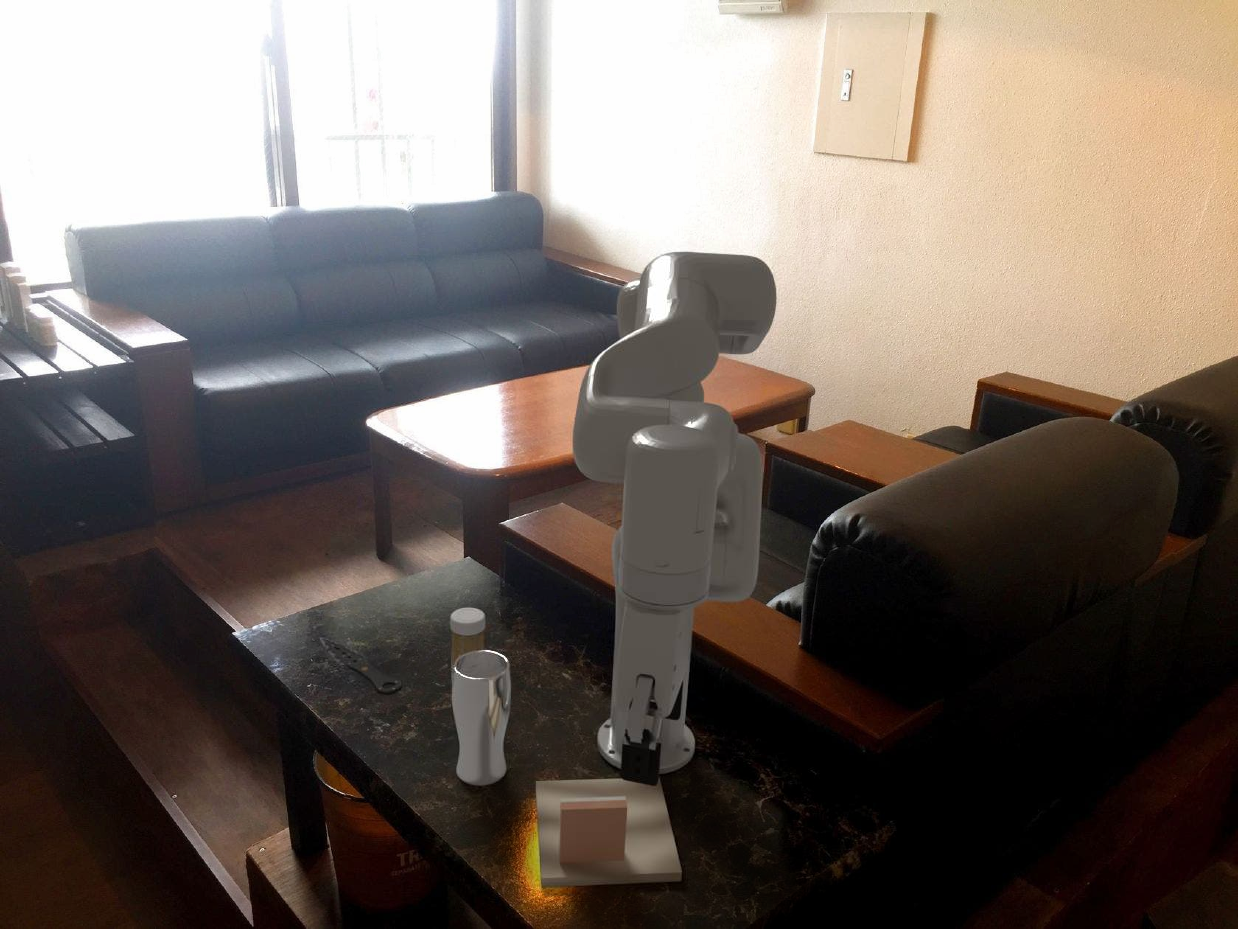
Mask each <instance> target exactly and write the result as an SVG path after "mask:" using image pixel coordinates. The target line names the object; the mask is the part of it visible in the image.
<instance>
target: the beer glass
mask: <svg viewBox="0 0 1238 929" xmlns="http://www.w3.org/2000/svg"><path fill="white" fill-rule="evenodd" d="M510 664H511V663H510V661H509V659H508V658H507V657H506V656H505V655H504V654H501V653H500V652H497V651H493V650H486V649H484V650H479V651H472V652H468V653H465V654H463V655H461V656H460V657H459V658H457V659H456V661H455V663H454V673H453V685H452V684H451V697H452V702H451V703H452V711H453V717H454V723H455V727H456V731H457V736H458V741H459V742H458V743H459V754H458V760H457V764H456V770H455V772H456V775H457V777H458V778H459V779H460V780H461V781H462V782H463V783H465V784H468V785H472V786H479V787H480V786H481V787H482V786H489V785H492V784H495V783H496V782H498V781H500V780H502V778H504V777H505V774H506V772H507V763H506V758H505V754H504V752H505V751H504V740H505V734H506V732H507V731H506V730H507V725H508V720H509V718H510V717H509V716H510V712H511V711H510V710H511V703H512V701H511V700H512V699H511V698H512V683H511V682H512V680H511V672H510V671H511V668H510V666H511V665H510Z"/></svg>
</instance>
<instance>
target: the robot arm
mask: <svg viewBox="0 0 1238 929" xmlns="http://www.w3.org/2000/svg"><path fill="white" fill-rule="evenodd" d="M777 298H778V297H777V286H776V282H775V278H774V274H773V273H772V270H771V269H770V267H769V265H768V264H767V263H766V262H765V261H764V260H762V259H760V258H759V257H757V256H752V255H749V254H748V255H746V254H732V253H731V254H730V253H714V252H713V253H711V252H695V251H672V252H667V253H663V254H660V255H658V256H656V257H655V258H654V259H652V260H651V261H650V262H649V263H648V264H647V265H646V266H645V267H644V269H643V271H642V273H641V275H640V278H636V279H633V280H629V281H628V282H627V283H625V284H624V285H623V286H622V287H621V288H620V290H619V292H618V295H617V302H616V321H617V328H618V336H619V339H618V340H617V341H615V342H614V343H613V344H611V345H610V346H608V347H607V348H606V349H604V350H602V351H601V353H599V354H598V355H597V356H596V357H595V358H594V359H593V361H592V362H591V363H590V364H589V366H588V368H587V369H586V371H585V374H584V375H583V379H582V381H581V384H580V389H579V393H578V399H577V403H576V404H577V405H576V410H575V415H574V423H573V429H572V453H573V454H572V455H573V458H574V462H575V464H576V467H577V468H578V470H579V471H580V473H582V474H583V475H584V476H585V477H587V478H588V479H590V480H592V481H596V482H601V483H612V484H614V483H615V484H623V491H622V492H623V496H622V513H621V525H620V526H619V528H618V529H617V530H616V532H615V534H614V536H613V541H612V548H611V557H612V560H611V561H612V567H613V569H612V570H613V577H614V578H613V580H614V590H615V625H614V626H615V627H614V628H615V629H614V630H615V631H614V648H613V649H614V650H613V667H612V668H613V670H612V685H611V686H612V688H611V701H610V702H611V705H610V718H608V719H607V720H606V721H605V722H604V723H602V724H601V726H600V727H599V729H598V732H597V739H596V743H597V749H598V751H599V753H600V755H601V756H602V757H603V758H604V760H606V761H607V762H608V763H610V764H611V765H612V766H614V767H616V768H618V769H620V776H619V777H620V779H623V780H626V781H631V782H636V783H641V784H646V785H651V786H656V785H657V783H658V780H659V778H660V775H664V774H668V773H672V772H674V771H677V770H680V769H681V768H682V767H684V766H685V765H687V764H688V763H689V762H690V761H691V760H692V758H693V756H694V754H695V748H696V739H695V737H694V733H693V732H692V730H691V729H690V728H689V727H688V726H687V724H685V722H686V710H687V700H688V690H689V689H688V687H689V686H688V685H689V678H690V677H689V676H690V675H689V674H690V663H691V652H692V640H693V627H694V616H695V615H694V614H695V608H697V607H699V606H701V604H704V602H707V601H709V602H724V603H726V602H727V603H730V602H731V603H738V602H741V601H744V600H746V599H748V598H749V597H751V595H752V593H753V592H754V590H755V588H756V584H757V579H758V573H759V560H760V542H761V540H760V538H761V518H762V498H763V497H762V496H763V493H762V492H763V461H762V455H761V451H760V448H759V446H758V444H757V442H756V441H755V440H754V439H753V438H752V437H751V436H749V435H747V434H744V433H740V432H739V428H738V425H737V424H736V423H735V421H734V419H733V417H732V414H730V413H731V412H730V411H728V410H727V409H726V408H725V407H722V406H721V405H718V404H716V403H710V402H705V392H704V386H703V385H702V382H703V381H704V380H705V379H706V378H708V376H709V375H710V374H711V373H712V371H713V370H714V369H715V367H716V365H717V363H718V361H719V356H720V354H724V355H725V354H726V355H749V354H753V353H754V352H755V351H757V350H758V349H759V347H760V346H761V344H762V343H763V341H764V339H765V338H766V336H767V335H768V333H769V331H770V329H771V327H772V324H773V322H774V320H775V319H774V318H775V315H776V311H777V310H776V308H777ZM717 512H718V513H719V514H720V515H721V516H722V519H723V521H715V520H716V513H717Z"/></svg>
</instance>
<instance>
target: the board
mask: <svg viewBox="0 0 1238 929" xmlns="http://www.w3.org/2000/svg"><path fill="white" fill-rule="evenodd" d="M620 796H625V797H626V802H627V822H626V838H625V853H624V861H600V862H576V863H559V853H558V849H559V821H560V799H561V798H591V797H620ZM535 801H536V802H535V803H536V817H537V819H536V820H537V838H538V854H539V868H540V870H539V871H540V872H539V873H540V888H556V887H576V886H598V885H602V886H603V885H625V884H644V883H648V884H649V883H667V882H681V881H682V878H683V876H682V875H683V871H682V866H681V862H680V859H679V854H678V848H677V846H676V842H675V836H674V833H673V830H672V829H673V828H672V824H671V820H670V817H669V812H668V807H667V803H666V800H665V796H664V791H663V786H662V783H661V778H660V777H659V780H658V783H657V785H656V786H651V785H646V784H641V783H636V782H631V781H626V780H623V779H622V778H596V779H595V778H594V779H567V780H566V779H565V780H564V779H563V780H561V779H560V780H536V781H535Z"/></svg>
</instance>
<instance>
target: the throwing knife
mask: <svg viewBox="0 0 1238 929" xmlns="http://www.w3.org/2000/svg"><path fill="white" fill-rule="evenodd" d="M318 638H319V640H320V642H321V644H322V646H323V647H324V649H325V650H326V651H327V653H328V654H329V655H330V656H331V658H332V659H333V660H334V661H335V662H336V664H338V665H339V667H341V668H342V669H349V670H353V671H355V672H358V673H359V674H361V675H362V676H364V677H365V678H366V679H367V680H369V682H370V683H372V685H373V686H374V688H375V689H376V691H377V692H379V693H381V694H387V695H388V694H393V693H395V692H397V691H399V690H400V689H401V688H402V681H401V680H400V679H398V678H395V677H392V676H388V675H387V674H384V673H382V672H380V671H379V670H378V669H376V668H375V667H373V665H371V664H370V663H369V658H370V657H368V656H366V655H365V654H363V653H360V652H359V651H357V650H355V649H352V648H350V647H348V646H345V645H343V644H341V643H339V642H335V641H333V640H331V639H328V638H324V637H322V636H318ZM386 684H391V685H392V684H393V685H394V686H393V687H389V688H384V685H386Z"/></svg>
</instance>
